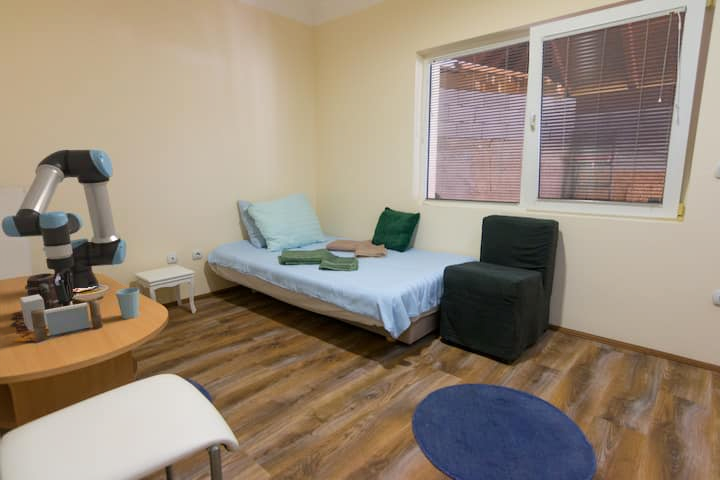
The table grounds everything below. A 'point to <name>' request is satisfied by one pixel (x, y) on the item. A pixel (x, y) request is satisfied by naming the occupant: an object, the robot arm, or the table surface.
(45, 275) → the mug
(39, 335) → the posts
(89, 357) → the table surface
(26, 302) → the small box
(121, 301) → the cup
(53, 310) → the white thick panel
